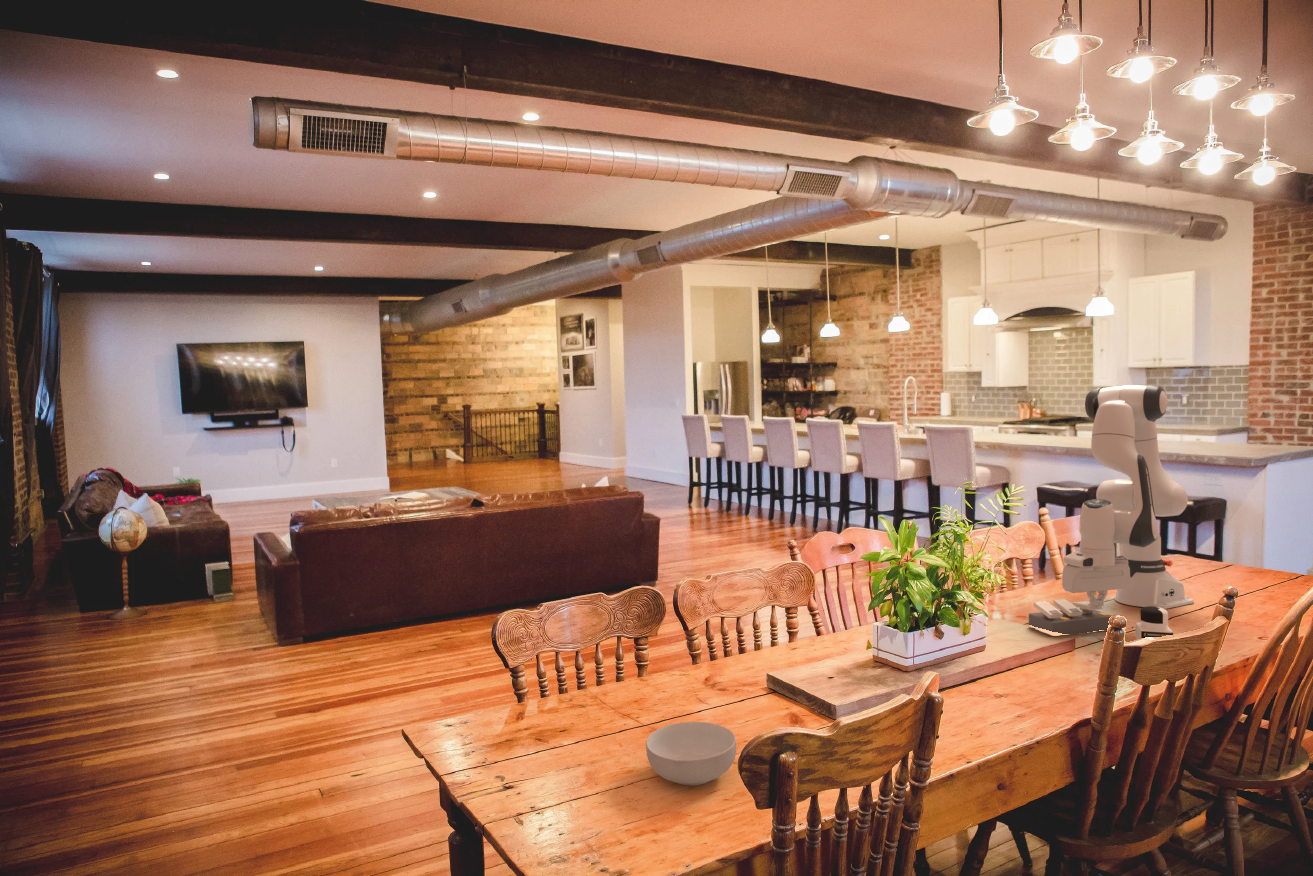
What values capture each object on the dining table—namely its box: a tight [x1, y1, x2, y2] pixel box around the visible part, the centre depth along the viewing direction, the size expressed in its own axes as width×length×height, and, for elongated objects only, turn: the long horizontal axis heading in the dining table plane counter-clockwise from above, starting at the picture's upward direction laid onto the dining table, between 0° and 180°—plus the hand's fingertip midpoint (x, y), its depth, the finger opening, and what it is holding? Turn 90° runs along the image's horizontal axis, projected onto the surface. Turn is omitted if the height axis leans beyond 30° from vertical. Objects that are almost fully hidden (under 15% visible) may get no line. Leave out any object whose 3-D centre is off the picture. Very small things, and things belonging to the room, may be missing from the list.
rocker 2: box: [1052, 598, 1083, 616], centre depth 232 cm, size 4×7×1 cm, turn 13°
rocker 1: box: [1033, 600, 1063, 619], centre depth 231 cm, size 4×7×1 cm, turn 13°
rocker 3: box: [1071, 600, 1103, 611], centre depth 234 cm, size 4×7×1 cm, turn 13°
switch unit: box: [1028, 608, 1113, 635], centre depth 233 cm, size 20×10×5 cm, turn 103°
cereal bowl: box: [645, 721, 737, 787], centre depth 151 cm, size 17×17×7 cm
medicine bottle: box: [1135, 606, 1174, 641], centre depth 209 cm, size 7×7×12 cm
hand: (1096, 606), depth 230 cm, fingers closed, pressing on rocker 3
